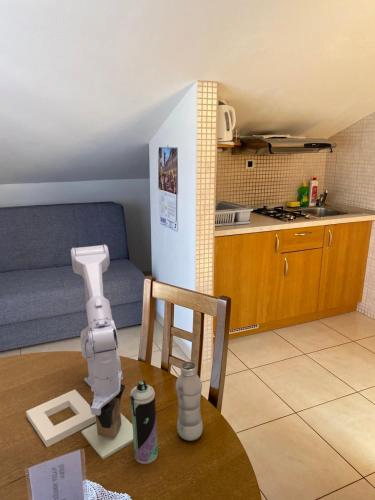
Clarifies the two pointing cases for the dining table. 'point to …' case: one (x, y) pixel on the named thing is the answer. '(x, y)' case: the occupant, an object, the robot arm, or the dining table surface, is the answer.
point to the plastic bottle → (189, 402)
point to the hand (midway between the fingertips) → (110, 419)
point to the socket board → (67, 427)
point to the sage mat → (109, 438)
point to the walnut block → (114, 423)
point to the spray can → (144, 423)
